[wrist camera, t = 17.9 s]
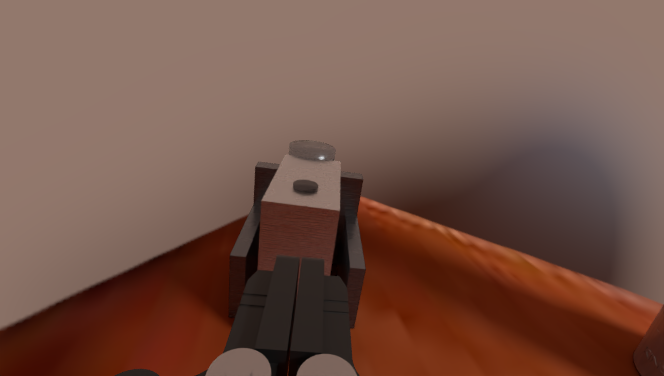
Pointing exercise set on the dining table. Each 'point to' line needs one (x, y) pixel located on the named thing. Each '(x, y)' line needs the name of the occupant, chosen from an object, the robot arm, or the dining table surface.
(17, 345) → the dining table surface
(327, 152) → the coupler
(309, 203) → the block
